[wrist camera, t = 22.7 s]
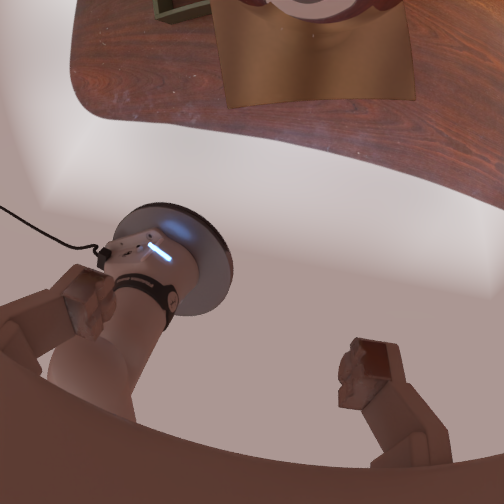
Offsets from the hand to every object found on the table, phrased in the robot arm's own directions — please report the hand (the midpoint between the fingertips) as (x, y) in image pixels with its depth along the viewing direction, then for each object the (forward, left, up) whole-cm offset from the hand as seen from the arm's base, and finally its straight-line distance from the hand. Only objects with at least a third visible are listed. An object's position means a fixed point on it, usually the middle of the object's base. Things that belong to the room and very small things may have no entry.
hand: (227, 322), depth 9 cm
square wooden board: (+4, +12, -15) cm, 20 cm away
